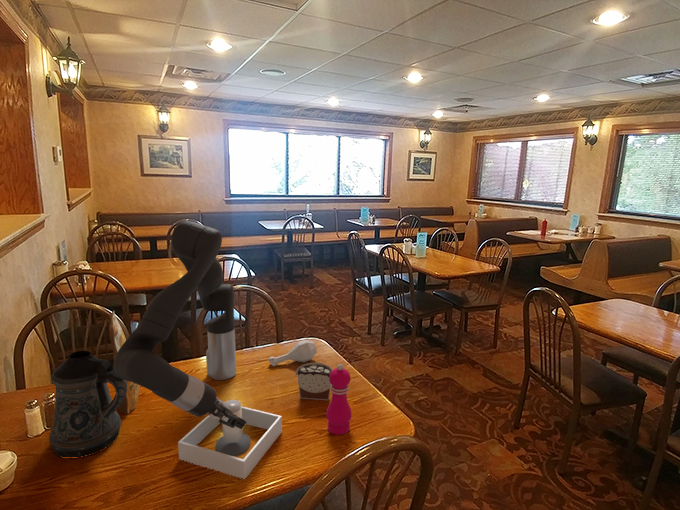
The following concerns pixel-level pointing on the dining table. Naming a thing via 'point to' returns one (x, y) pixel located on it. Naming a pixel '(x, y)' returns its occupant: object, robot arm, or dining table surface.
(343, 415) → the pepper mill
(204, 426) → the grey square frame
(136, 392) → the pancake mix bag
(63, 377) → the beer stein
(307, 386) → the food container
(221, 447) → the coaster
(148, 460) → the dining table surface
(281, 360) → the chicken leg
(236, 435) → the sugar shaker
